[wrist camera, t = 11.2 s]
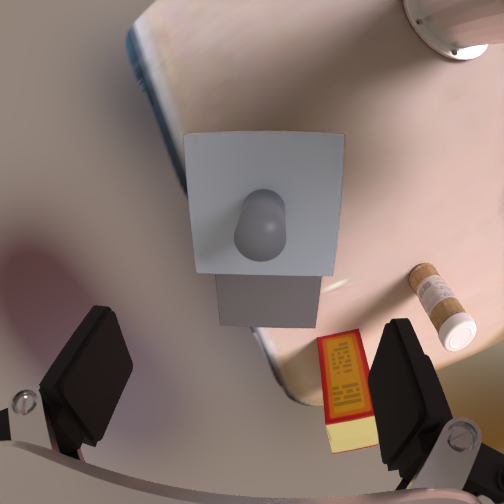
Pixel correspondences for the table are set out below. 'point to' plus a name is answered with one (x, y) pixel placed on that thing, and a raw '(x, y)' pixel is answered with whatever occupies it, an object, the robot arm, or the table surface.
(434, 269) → the sprinkles bottle
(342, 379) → the baking soda box
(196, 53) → the table surface
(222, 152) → the lid
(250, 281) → the mat
